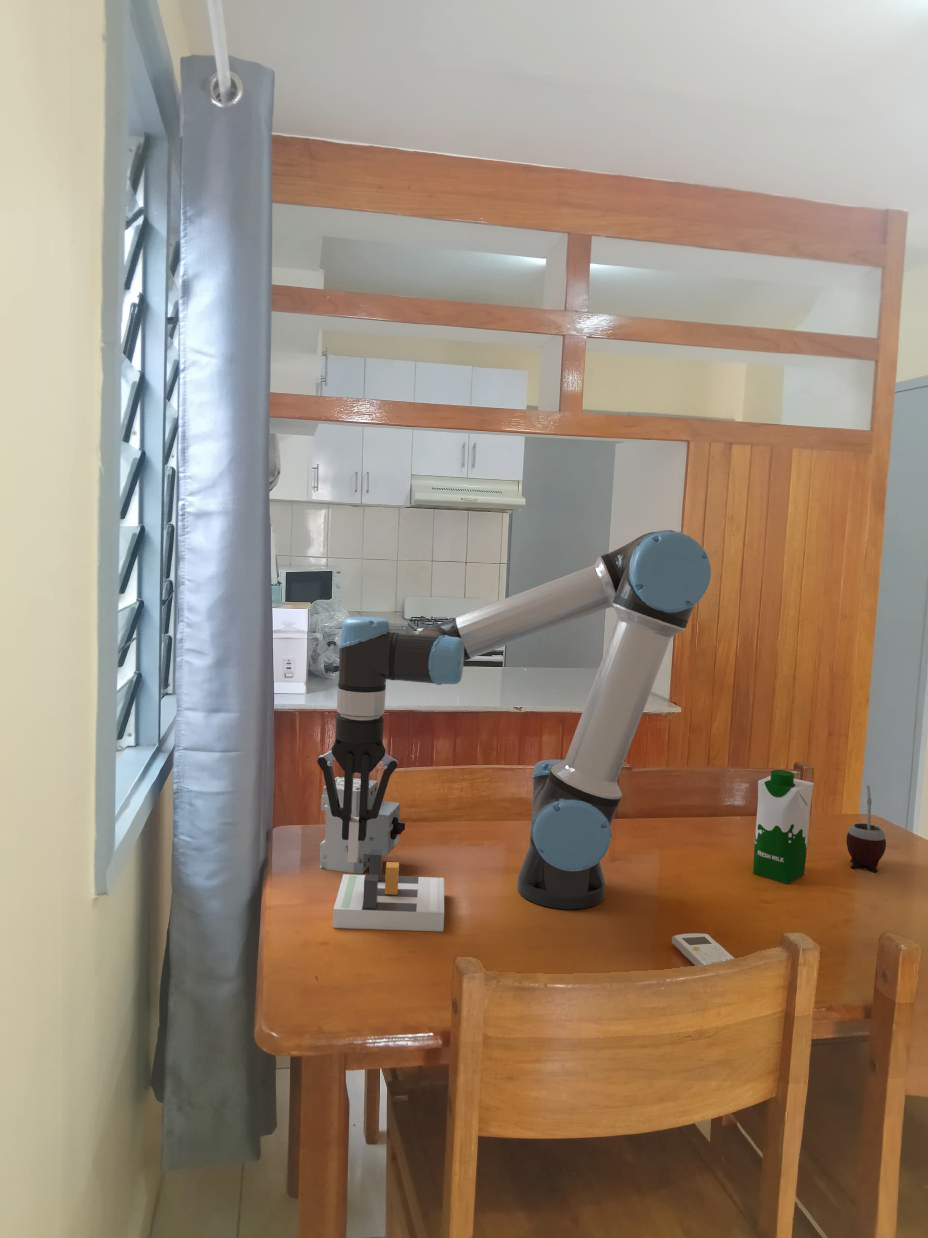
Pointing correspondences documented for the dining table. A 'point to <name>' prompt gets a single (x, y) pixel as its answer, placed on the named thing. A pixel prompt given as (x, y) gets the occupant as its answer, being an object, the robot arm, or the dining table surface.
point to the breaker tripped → (392, 878)
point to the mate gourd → (866, 843)
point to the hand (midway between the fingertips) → (352, 859)
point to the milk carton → (782, 826)
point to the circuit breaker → (378, 833)
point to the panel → (391, 905)
